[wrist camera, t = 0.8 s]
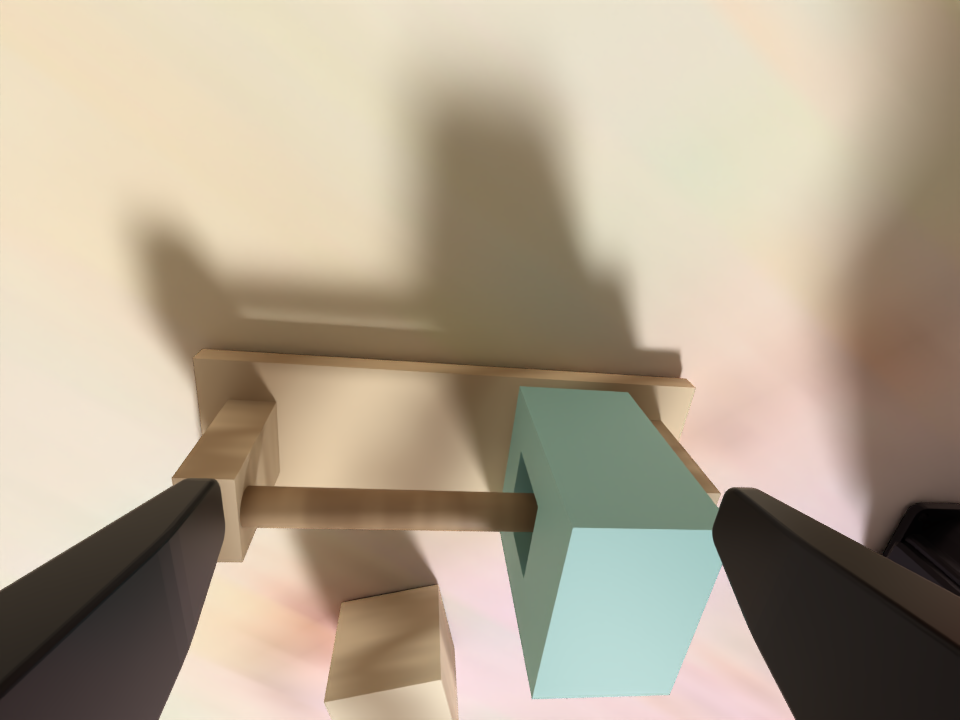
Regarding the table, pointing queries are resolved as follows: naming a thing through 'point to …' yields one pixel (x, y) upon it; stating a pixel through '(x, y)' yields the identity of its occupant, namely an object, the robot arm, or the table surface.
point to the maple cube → (393, 659)
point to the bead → (604, 546)
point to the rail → (381, 441)
